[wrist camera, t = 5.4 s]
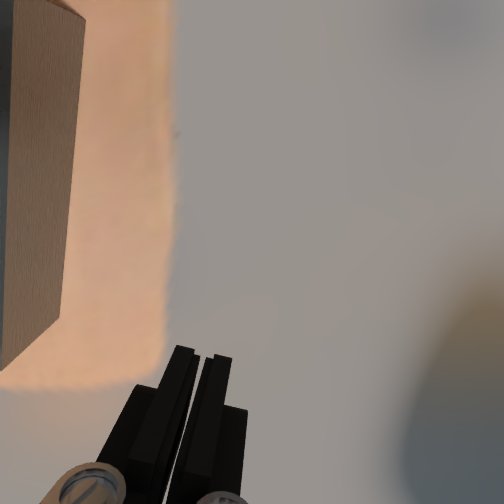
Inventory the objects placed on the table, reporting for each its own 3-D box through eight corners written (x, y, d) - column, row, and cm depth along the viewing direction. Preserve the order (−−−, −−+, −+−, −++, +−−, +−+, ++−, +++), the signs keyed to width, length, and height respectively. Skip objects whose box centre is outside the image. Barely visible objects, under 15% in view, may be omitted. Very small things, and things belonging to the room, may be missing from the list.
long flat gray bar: (53, 10, 24) (-31, -28, 17) (85, 19, 24) (14, -16, 17) (34, 311, 31) (-31, 363, 24) (59, 317, 31) (1, 371, 24)
